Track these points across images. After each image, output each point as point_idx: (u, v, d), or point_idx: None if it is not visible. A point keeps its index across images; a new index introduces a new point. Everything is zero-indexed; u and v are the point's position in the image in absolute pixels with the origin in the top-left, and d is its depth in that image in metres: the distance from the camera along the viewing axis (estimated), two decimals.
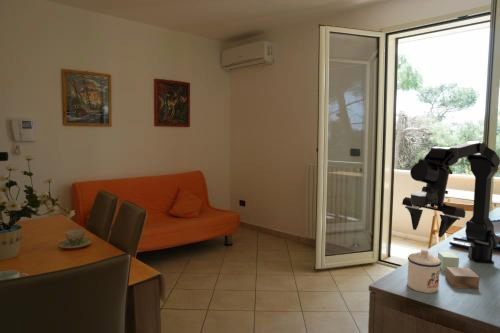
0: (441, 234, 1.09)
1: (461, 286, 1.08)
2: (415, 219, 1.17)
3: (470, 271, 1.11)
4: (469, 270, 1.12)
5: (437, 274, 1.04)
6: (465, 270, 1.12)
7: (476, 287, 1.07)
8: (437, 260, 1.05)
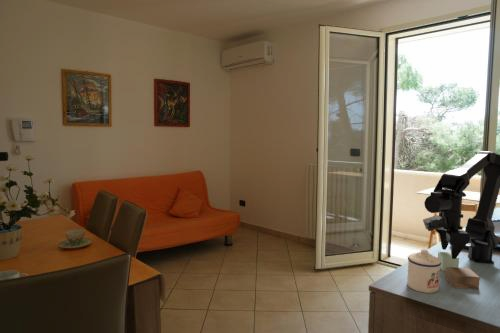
0: (453, 256, 1.17)
1: (461, 286, 1.08)
2: (443, 240, 1.27)
3: (470, 271, 1.11)
4: (469, 270, 1.12)
5: (437, 274, 1.04)
6: (465, 270, 1.12)
7: (476, 287, 1.07)
8: (437, 260, 1.05)
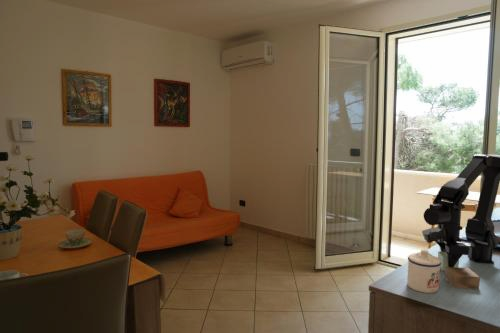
0: (450, 266, 1.20)
1: (462, 286, 1.08)
2: None
3: (470, 271, 1.11)
4: (468, 269, 1.12)
5: (437, 274, 1.04)
6: (465, 270, 1.12)
7: (476, 287, 1.07)
8: (437, 260, 1.05)
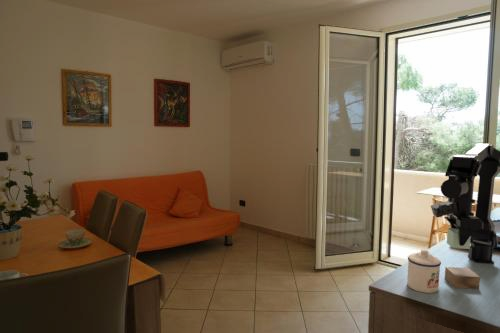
0: (461, 243, 1.10)
1: (462, 286, 1.08)
2: None
3: (469, 271, 1.11)
4: (468, 269, 1.12)
5: (437, 274, 1.04)
6: (464, 270, 1.12)
7: (477, 287, 1.07)
8: (437, 260, 1.05)
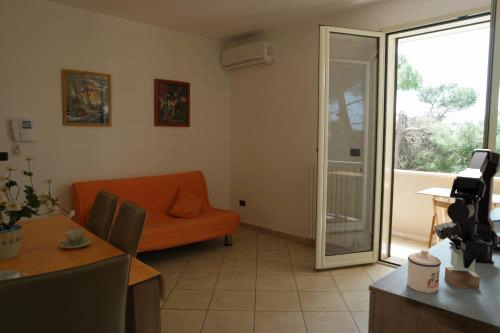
0: (466, 265, 1.07)
1: (462, 286, 1.08)
2: None
3: (469, 271, 1.11)
4: None
5: (437, 274, 1.04)
6: None
7: (477, 287, 1.07)
8: (437, 260, 1.05)
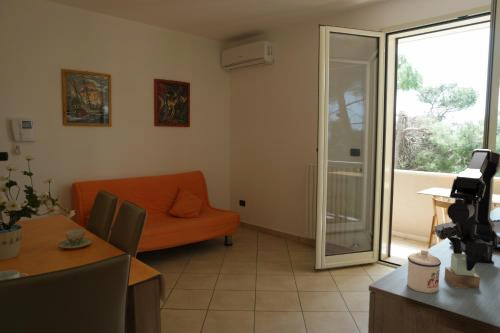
0: (469, 268, 1.06)
1: (463, 286, 1.08)
2: (456, 249, 1.15)
3: None
4: None
5: (437, 274, 1.04)
6: None
7: (477, 287, 1.07)
8: (437, 260, 1.05)
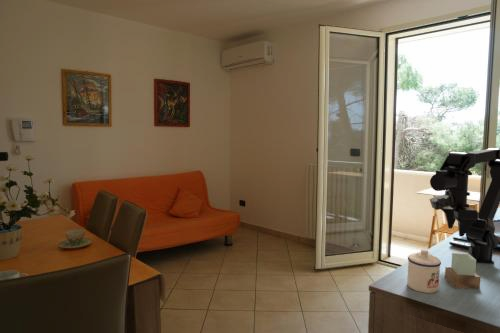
0: (461, 234, 1.19)
1: (463, 286, 1.08)
2: (449, 219, 1.28)
3: None
4: None
5: (437, 274, 1.04)
6: None
7: (477, 287, 1.07)
8: (437, 260, 1.05)
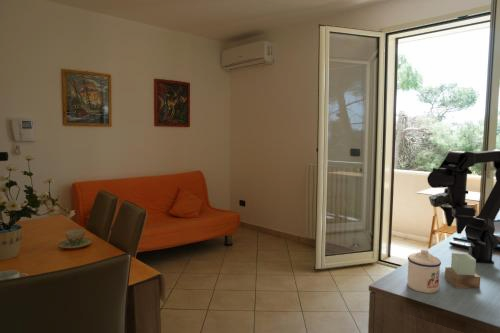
0: (459, 231, 1.21)
1: (463, 286, 1.08)
2: (448, 217, 1.30)
3: None
4: None
5: (437, 274, 1.04)
6: None
7: (477, 287, 1.08)
8: (437, 260, 1.05)
